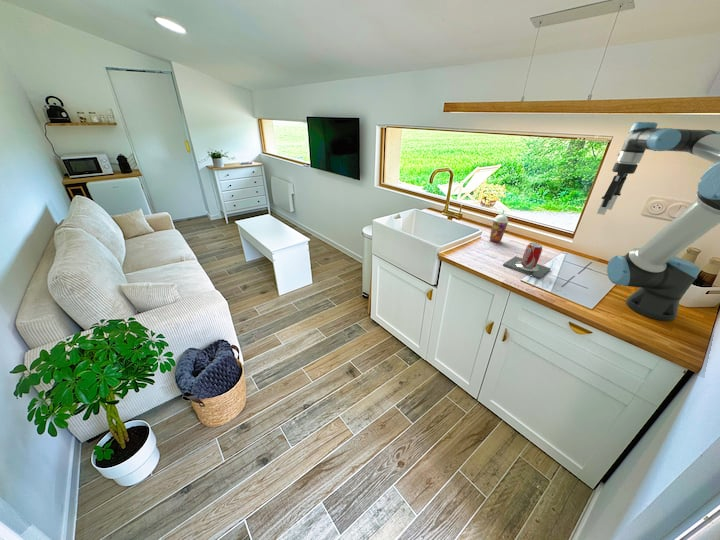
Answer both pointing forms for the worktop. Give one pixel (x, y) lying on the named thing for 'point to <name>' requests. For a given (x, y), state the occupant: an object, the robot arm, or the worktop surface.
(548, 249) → the worktop surface
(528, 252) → the soda can
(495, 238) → the smoothie
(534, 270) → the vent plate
